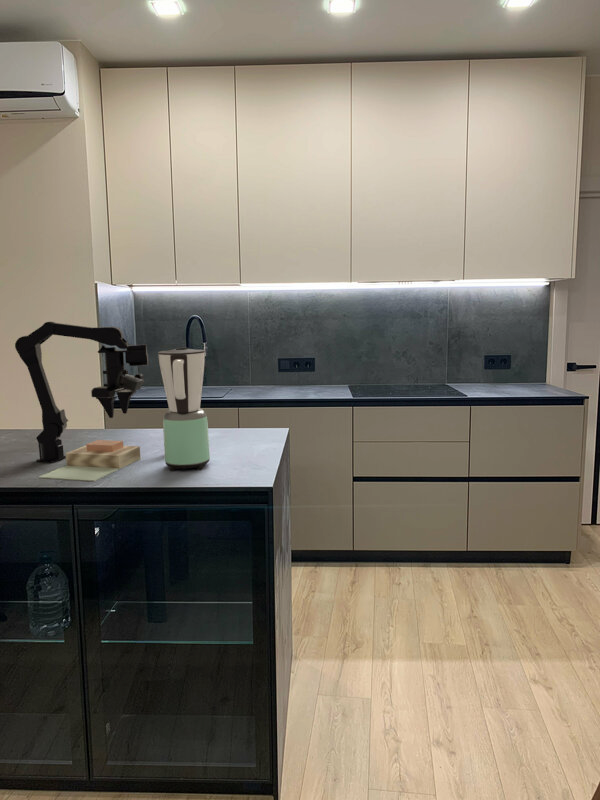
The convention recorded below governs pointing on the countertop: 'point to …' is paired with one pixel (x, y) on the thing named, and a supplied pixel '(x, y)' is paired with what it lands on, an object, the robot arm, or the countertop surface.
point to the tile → (104, 445)
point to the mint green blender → (184, 409)
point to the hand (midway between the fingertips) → (118, 415)
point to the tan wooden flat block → (103, 457)
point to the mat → (79, 473)
